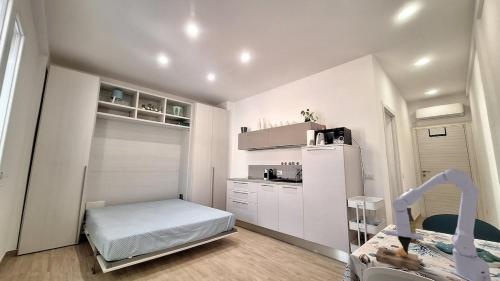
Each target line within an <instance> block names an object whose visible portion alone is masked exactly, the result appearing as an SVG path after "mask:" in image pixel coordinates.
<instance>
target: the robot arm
mask: <svg viewBox="0 0 500 281" xmlns="http://www.w3.org/2000/svg"><path fill="white" fill-rule="evenodd" d="M448 182H449V183H451V184H453V185H454V186H455V187H457V189H459V190H460V191H461V194H460V195H461V196H460V203H459V211H458V218H457V226H456V228H455V233H454V234H452V236H451V238H450V239H451V242H452V245H453V248H452V249H451V250H452V255H453V256H452V257H453V262H454V268H455V269H454V270H453V269H452V270H449V272H450V273H452V274H454V275H456V276H458V277H460V278H461V279H464V280H466V281H493V279H491V273H490V267H489V265H488V262H487V261H486V260H484V259H482V258H481V257H479V256H478V253H477V247H476V245H475V235H474V230H475V223H476V216H477V215H476V214H477V209H478V200H479V193H480V191H479V187H477V185H476V184H475V183H474V181H473V179H471V177H470V176H469V174H467V173H465V172H464V171H462V170H460V169H458V168H447V169H446V170H444V172H443V171H442V172H439V173H438V174H436V175H434V176H432V177H431V178H430V179H428V180H427V181H426V182H424V183H423V184H421V185H420V186H419V187H417V188H410V189H409V188H407V189H406V191H405V192H404V193H402V194H401V195H398V196H397V198H395V199H394V200H393V201H392V204H391V205H392V208H393V212H394V213H393V217H394V224H395V230H388V229H385V235H386V236H393V237H397V240H398V241H399V243H400V244H401V247H402V248H403V249H404V251H405V252H406V253H407V254H408V253H409V246H410V244H411V239H417V240H418V241H423V242H424V241H425V240H424V235H423V234H417V233H416V234H413V233H411V230H410V223H409V216H408V213H407V207H412V206H413V205H414V204H416V203H418V202H419V201H421V200H422V199H423V197H424V196H423V195H424V194H425V193H427V192H429V191H431V190H432V189H434V188H435V187H437V186H439V185H448V184H449V183H448Z"/></svg>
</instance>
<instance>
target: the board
mask: <svg viewBox="0 0 500 281" xmlns="http://www.w3.org/2000/svg"><path fill="white" fill-rule="evenodd" d="M375 260H378V261H377V262H380V261H382V262H381V263H385V262H386V264H390V265H393V266H398V267H402V266H403V267H402V268H406V267H408V268H407V269H410V268H412V269H411V270H415V271H419V256H418V254H415V253H409V252H408V255H407V256H406V257H402V256H400V255H399V254H398V252H397V250H394V249H389V248H383V247H379V248H378V249H377V252H376V253H375Z"/></svg>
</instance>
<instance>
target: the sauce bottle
mask: <svg viewBox="0 0 500 281" xmlns="http://www.w3.org/2000/svg"><path fill="white" fill-rule="evenodd" d="M407 213H408V216H409V223H410V230H411V233H413V234H417V231H416V230H417V228H416V221H415V219H414V217H413V214H412V206H407ZM411 242H412V243H416V242H417V239H411ZM411 242H410V243H411Z"/></svg>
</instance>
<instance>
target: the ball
mask: <svg viewBox="0 0 500 281" xmlns="http://www.w3.org/2000/svg"><path fill="white" fill-rule="evenodd" d="M396 251H397V252H398V254H399V255H400V256H402V257H406V256H407V255H408V254H407V253H406V252H405V251H404V249H403V247H402V246H401V247H398V248H397V250H396Z"/></svg>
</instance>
